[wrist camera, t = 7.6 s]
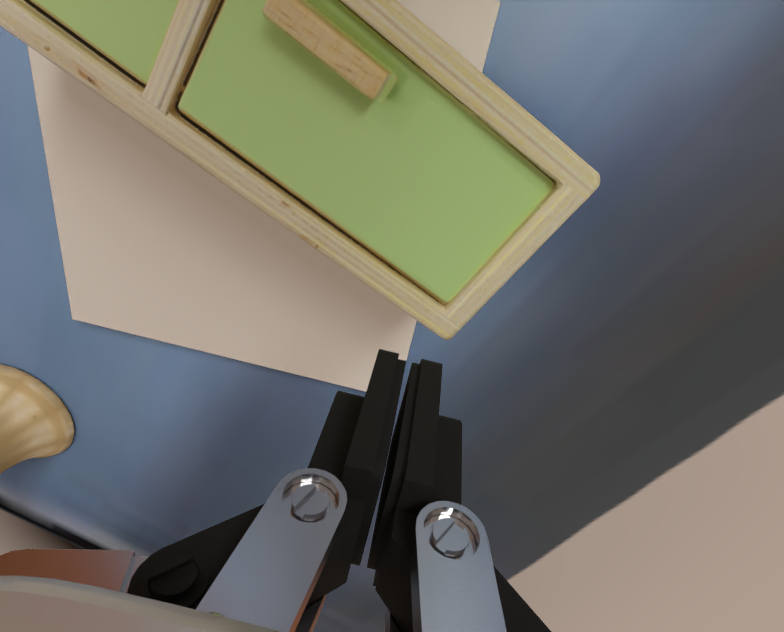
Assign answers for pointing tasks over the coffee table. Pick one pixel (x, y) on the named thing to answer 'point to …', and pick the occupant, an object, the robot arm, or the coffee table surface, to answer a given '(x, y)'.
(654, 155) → the coffee table surface
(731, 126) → the coffee table surface
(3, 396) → the hand bell
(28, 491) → the coffee table surface
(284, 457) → the coffee table surface
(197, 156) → the toy refrigerator
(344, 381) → the sheet of paper
